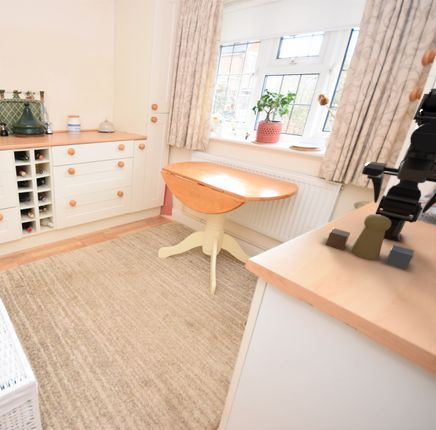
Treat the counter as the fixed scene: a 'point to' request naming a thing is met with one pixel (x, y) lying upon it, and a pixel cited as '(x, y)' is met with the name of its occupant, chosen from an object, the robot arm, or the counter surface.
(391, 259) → the slate block
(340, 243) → the walnut block
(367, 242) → the cork
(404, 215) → the robot arm
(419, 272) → the counter surface
